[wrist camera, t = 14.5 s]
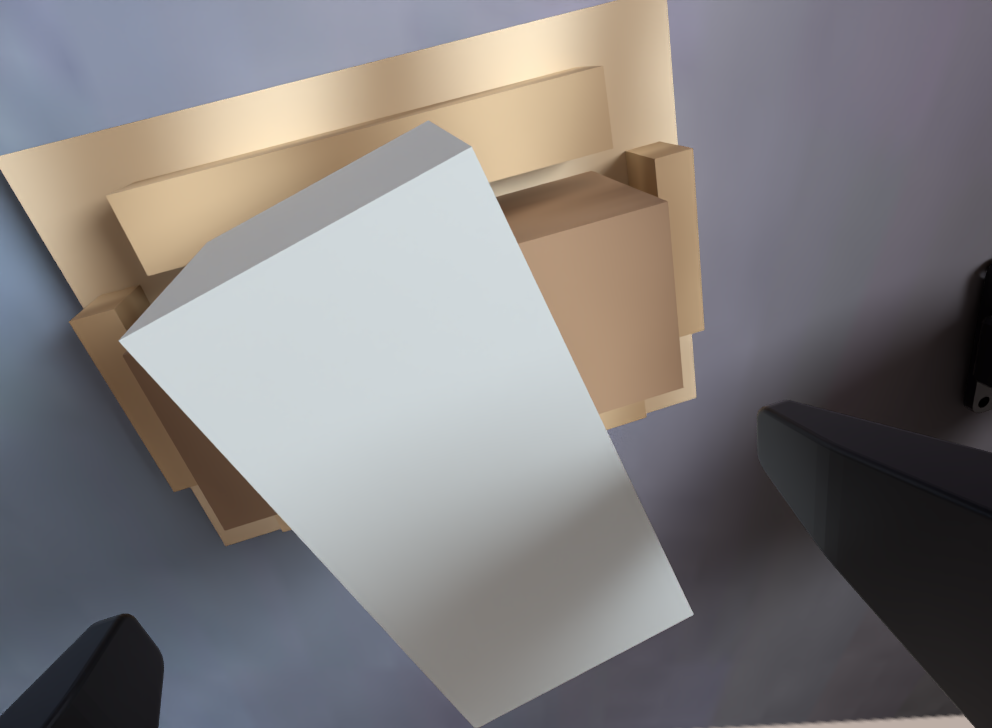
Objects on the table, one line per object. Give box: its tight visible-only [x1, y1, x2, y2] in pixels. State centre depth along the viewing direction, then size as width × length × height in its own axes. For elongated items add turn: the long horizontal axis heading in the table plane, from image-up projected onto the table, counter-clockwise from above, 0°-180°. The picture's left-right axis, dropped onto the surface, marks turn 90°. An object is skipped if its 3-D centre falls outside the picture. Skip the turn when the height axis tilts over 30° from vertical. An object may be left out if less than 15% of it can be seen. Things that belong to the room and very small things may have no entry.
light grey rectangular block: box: [119, 120, 694, 728], centre depth 11 cm, size 9×4×4 cm, turn 26°
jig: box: [0, 0, 704, 546], centre depth 16 cm, size 16×12×3 cm
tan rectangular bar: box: [122, 171, 684, 531], centre depth 15 cm, size 11×4×4 cm, turn 103°
